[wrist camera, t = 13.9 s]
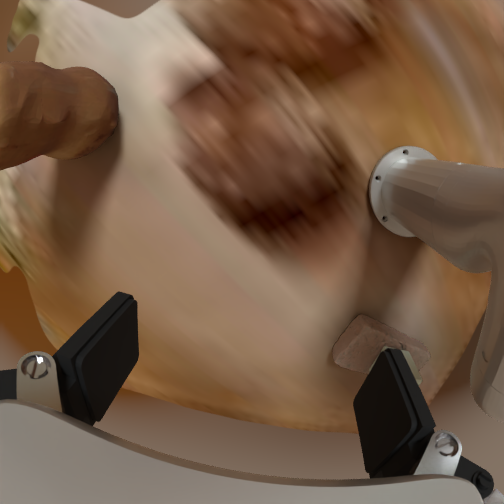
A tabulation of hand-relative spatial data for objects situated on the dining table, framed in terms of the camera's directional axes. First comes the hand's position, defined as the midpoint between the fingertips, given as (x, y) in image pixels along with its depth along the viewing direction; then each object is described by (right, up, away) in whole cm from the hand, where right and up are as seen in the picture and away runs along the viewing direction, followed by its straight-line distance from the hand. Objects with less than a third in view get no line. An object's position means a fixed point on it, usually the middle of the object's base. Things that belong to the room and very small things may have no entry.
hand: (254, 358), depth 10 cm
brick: (+22, -12, +34) cm, 42 cm away
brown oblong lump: (-24, +25, +26) cm, 43 cm away
